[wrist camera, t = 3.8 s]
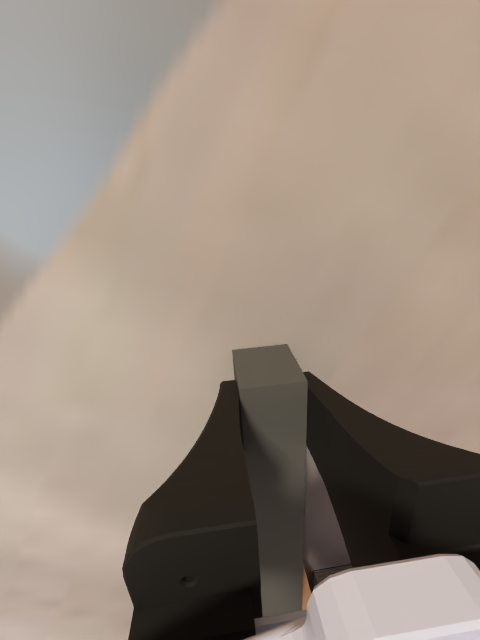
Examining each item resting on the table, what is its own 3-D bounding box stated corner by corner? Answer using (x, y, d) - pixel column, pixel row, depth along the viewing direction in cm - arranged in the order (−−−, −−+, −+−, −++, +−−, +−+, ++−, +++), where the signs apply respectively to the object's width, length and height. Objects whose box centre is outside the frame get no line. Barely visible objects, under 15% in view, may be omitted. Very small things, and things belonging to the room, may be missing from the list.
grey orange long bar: (303, 342, 14) (328, 378, 11) (298, 586, 21) (313, 645, 18) (215, 351, 13) (217, 391, 11) (242, 595, 20) (247, 657, 18)
